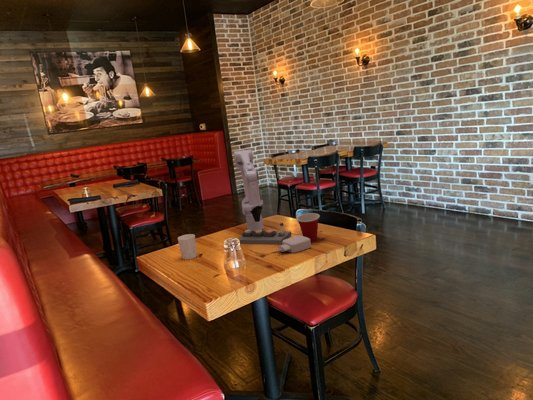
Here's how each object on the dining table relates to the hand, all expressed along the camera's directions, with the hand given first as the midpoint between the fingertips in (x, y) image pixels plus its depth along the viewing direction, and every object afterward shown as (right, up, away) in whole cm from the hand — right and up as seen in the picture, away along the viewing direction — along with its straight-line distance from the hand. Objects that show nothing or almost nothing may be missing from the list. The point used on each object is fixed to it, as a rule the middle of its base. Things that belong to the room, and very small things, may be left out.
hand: (257, 221), depth 199 cm
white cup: (-31, -16, -12) cm, 37 cm away
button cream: (+1, -6, +1) cm, 6 cm away
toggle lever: (+12, -6, -4) cm, 14 cm away
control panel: (+3, -9, +1) cm, 10 cm away
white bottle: (+16, -12, -20) cm, 28 cm away
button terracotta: (+6, -6, -1) cm, 9 cm away
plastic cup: (+25, -9, -10) cm, 29 cm away
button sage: (-5, -6, +4) cm, 9 cm away
